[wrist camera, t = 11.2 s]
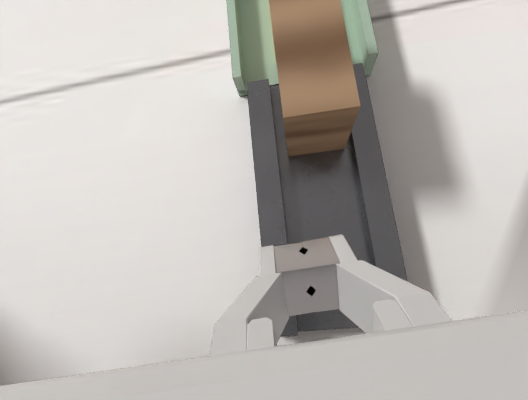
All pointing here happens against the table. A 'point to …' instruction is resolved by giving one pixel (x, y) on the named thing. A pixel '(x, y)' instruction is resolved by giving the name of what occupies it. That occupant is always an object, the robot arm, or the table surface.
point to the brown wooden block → (314, 74)
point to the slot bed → (323, 192)
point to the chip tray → (262, 46)
